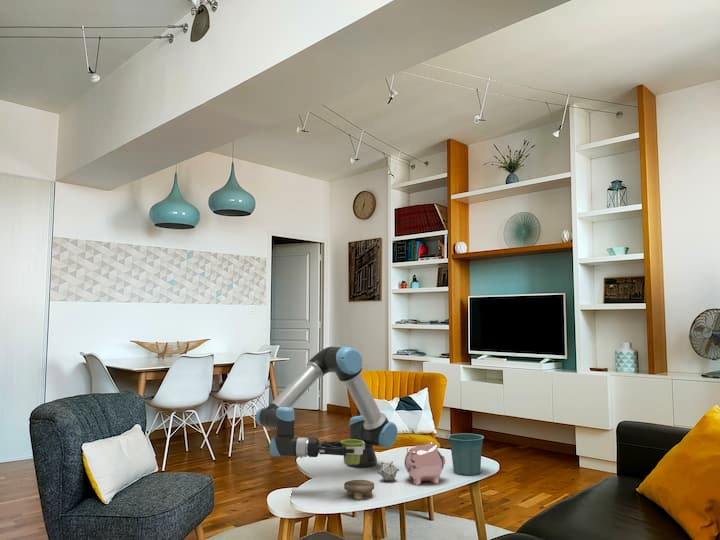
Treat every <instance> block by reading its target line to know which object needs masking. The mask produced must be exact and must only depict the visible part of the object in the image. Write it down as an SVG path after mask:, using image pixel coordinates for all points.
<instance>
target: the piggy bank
mask: <svg viewBox="0 0 720 540" xmlns="http://www.w3.org/2000/svg"><path fill="white" fill-rule="evenodd" d="M438 447H439V445H438V444H436V443H435V444H434V442H433V440H432V441H429V442H427V443H426V444H422V445H421V444H419V445H415V446H413V447H410V449H409V447H406V455H405V457H404V467H405V471H406V472H407V474H408V476H407V477H408V478H407V480H409V481H413V485H415V486H420V485H421V484H422V482H431V483H432V484H434V485H438V484H440V476H441V475H442V472H443V470H444V466H445V465H446V457H445V456H444V455H442V454H441V452H440V451H439V450H438Z"/></svg>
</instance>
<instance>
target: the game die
mask: <svg viewBox="0 0 720 540" xmlns="http://www.w3.org/2000/svg"><path fill="white" fill-rule="evenodd" d="M393 462H394V461H391V462H383V461H381V467H380V470H379V472H377V474H378V475H380V476H381V478H382V479H383V483H385V482H386V481H394V482H396V476H397V473H398V471H400V469H398V468H397V467H396V466H395V465H394V463H393Z"/></svg>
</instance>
